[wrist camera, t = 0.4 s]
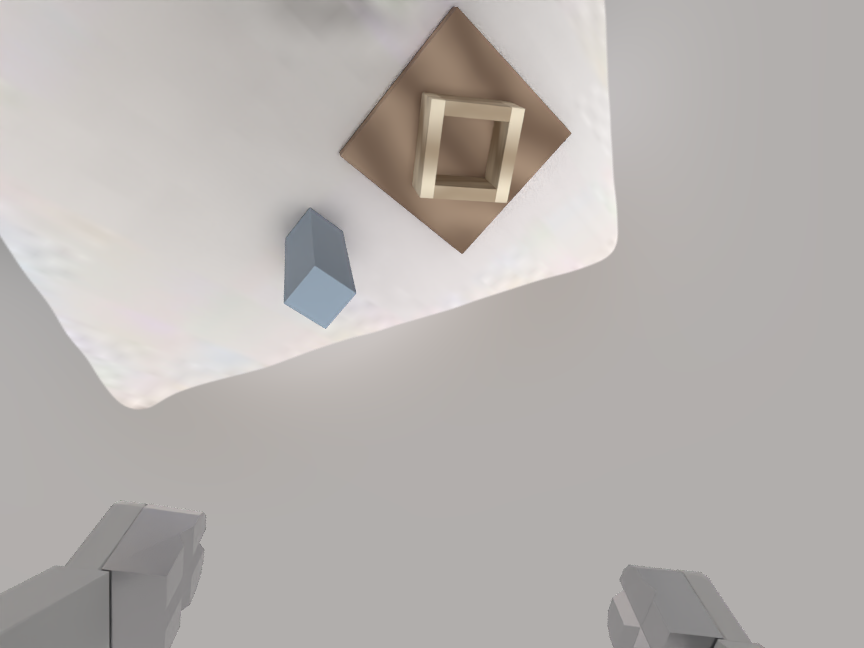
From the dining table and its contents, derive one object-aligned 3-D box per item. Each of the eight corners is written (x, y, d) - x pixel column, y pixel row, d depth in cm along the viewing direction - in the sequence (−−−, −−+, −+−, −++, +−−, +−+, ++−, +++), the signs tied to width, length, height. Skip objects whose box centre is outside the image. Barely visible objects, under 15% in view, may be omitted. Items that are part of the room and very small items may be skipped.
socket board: (452, 6, 48) (470, 7, 43) (565, 130, 55) (590, 141, 51) (339, 152, 52) (344, 167, 47) (458, 248, 59) (472, 269, 55)
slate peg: (309, 207, 54) (314, 265, 42) (342, 231, 56) (356, 293, 44) (285, 238, 55) (283, 303, 43) (318, 260, 57) (325, 328, 45)
